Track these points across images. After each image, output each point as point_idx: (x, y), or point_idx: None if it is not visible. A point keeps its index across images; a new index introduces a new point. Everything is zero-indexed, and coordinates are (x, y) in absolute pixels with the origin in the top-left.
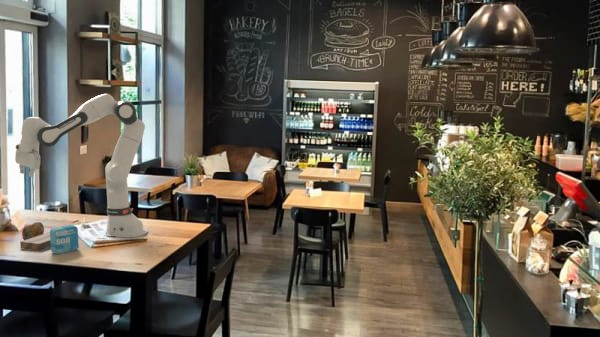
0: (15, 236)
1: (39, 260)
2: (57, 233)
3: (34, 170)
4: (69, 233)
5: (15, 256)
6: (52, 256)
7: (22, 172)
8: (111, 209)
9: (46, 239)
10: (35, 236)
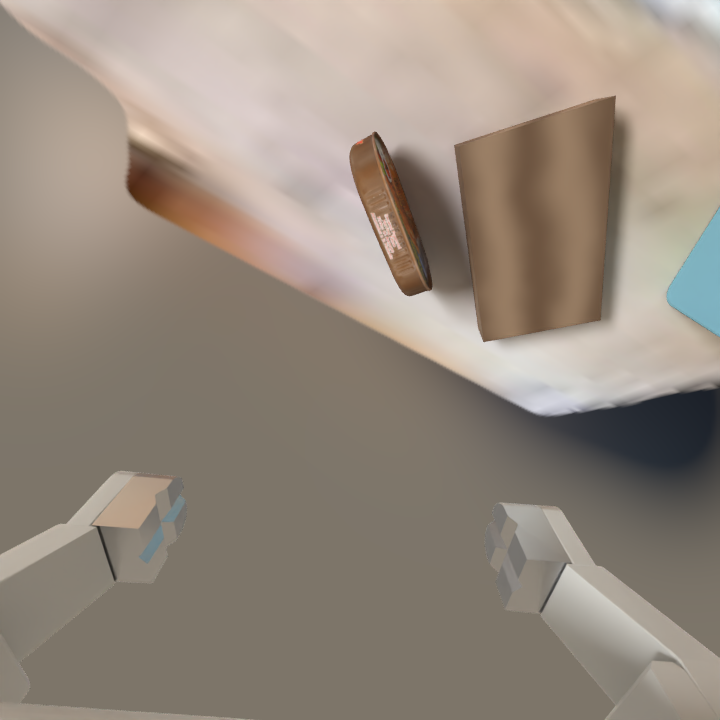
0: (276, 234)
1: (680, 375)
2: None
3: (718, 673)
4: None
5: (548, 388)
6: None
7: (173, 516)
8: None
9: (573, 258)
10: (403, 209)
